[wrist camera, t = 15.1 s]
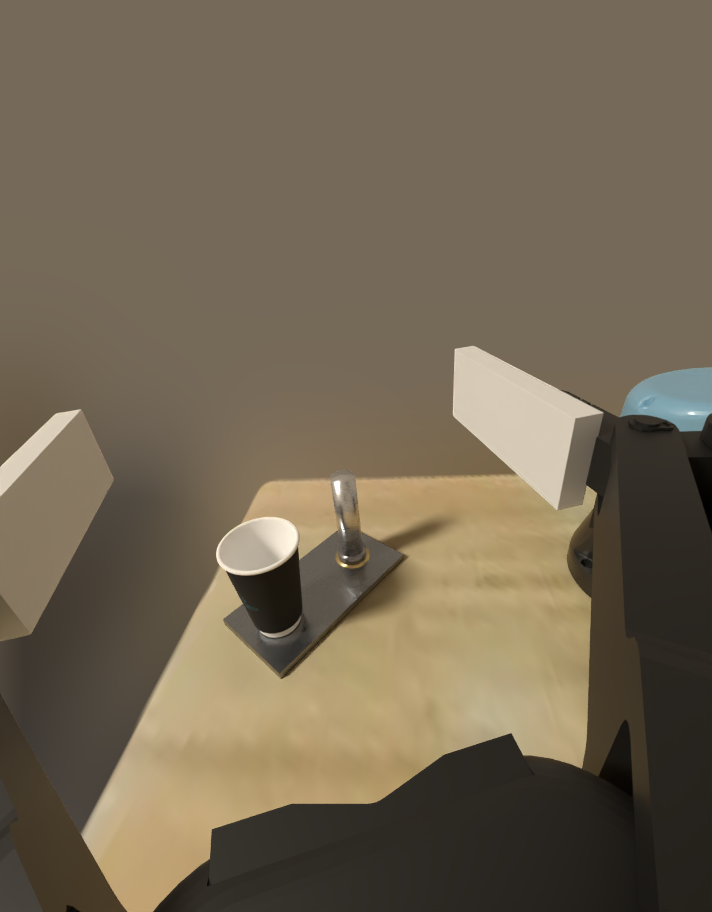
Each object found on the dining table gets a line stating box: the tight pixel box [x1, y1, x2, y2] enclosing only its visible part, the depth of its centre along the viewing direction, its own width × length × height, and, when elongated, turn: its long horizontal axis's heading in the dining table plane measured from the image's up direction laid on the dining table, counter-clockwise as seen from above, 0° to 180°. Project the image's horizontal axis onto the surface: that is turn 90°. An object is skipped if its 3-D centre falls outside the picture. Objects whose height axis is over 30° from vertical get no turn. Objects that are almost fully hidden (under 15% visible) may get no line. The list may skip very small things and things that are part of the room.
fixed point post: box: [330, 470, 367, 566], centre depth 49 cm, size 4×4×12 cm
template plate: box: [223, 531, 403, 678], centre depth 49 cm, size 20×10×1 cm, turn 138°
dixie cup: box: [216, 517, 303, 638], centre depth 42 cm, size 8×8×11 cm
